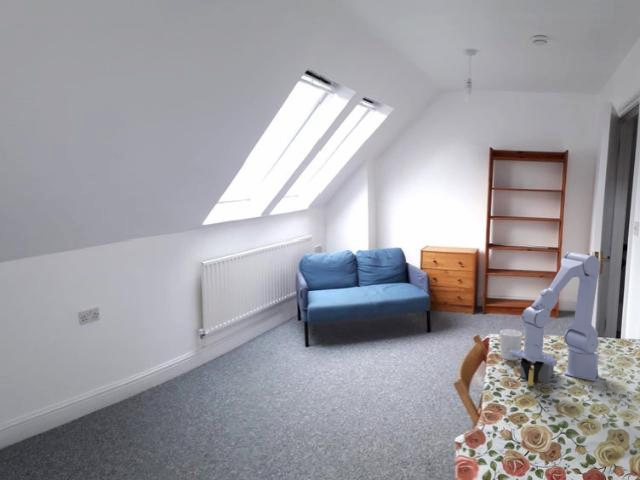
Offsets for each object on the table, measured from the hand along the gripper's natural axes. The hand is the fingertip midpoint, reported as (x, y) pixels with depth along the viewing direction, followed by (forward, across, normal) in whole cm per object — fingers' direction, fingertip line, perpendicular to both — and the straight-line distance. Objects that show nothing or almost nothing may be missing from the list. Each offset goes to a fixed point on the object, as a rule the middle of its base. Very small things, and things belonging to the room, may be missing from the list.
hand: (531, 380), depth 162 cm
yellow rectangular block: (+1, 0, +4) cm, 4 cm away
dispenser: (+1, 0, +9) cm, 9 cm away
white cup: (+2, -12, +20) cm, 24 cm away
